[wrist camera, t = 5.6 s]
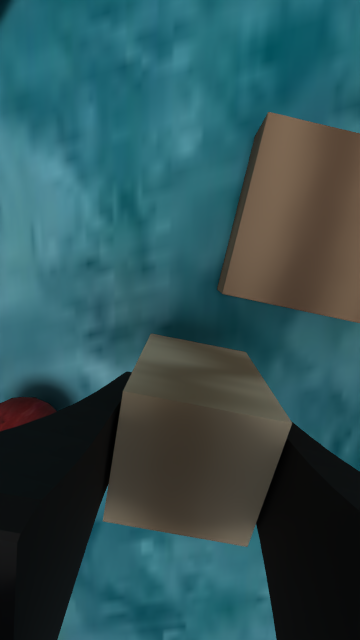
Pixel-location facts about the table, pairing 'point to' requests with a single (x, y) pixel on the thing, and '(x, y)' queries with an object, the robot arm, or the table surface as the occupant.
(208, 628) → the table surface
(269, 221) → the walnut block
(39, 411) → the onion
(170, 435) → the maple block
